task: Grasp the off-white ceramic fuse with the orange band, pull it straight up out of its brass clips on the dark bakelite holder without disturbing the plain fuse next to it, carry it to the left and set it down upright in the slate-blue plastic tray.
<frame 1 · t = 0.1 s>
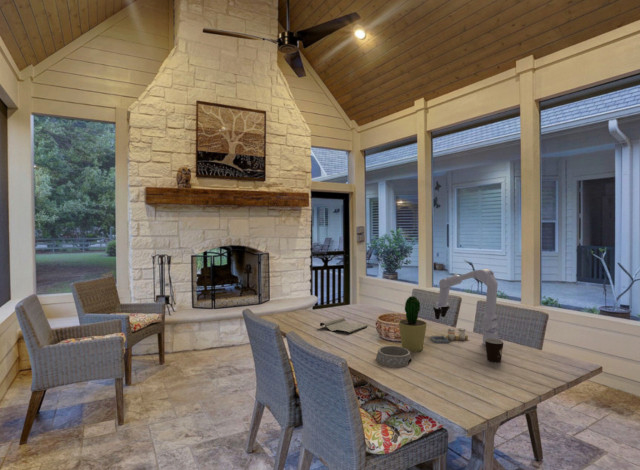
hand: (439, 317, 240), 10 cm above the table, tool pointing down, fingers open, 7 cm apart
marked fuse: (451, 339, 227), point 1 cm above the table, touching fuse holder
fuse holder: (456, 340, 227), on the table
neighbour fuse: (461, 339, 227), point 1 cm above the table, touching fuse holder
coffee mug: (496, 360, 194), on the table
dog bowl: (393, 361, 194), on the table
potted cactus: (412, 348, 213), on the table
mat: (344, 329, 254), on the table
tray: (439, 342, 224), on the table
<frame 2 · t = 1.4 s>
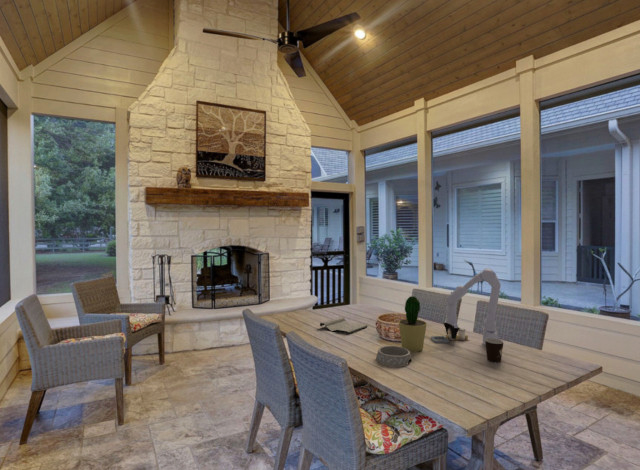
hand: (451, 336, 227), 2 cm above the table, tool pointing down, fingers open, 7 cm apart
nothing on the table moved.
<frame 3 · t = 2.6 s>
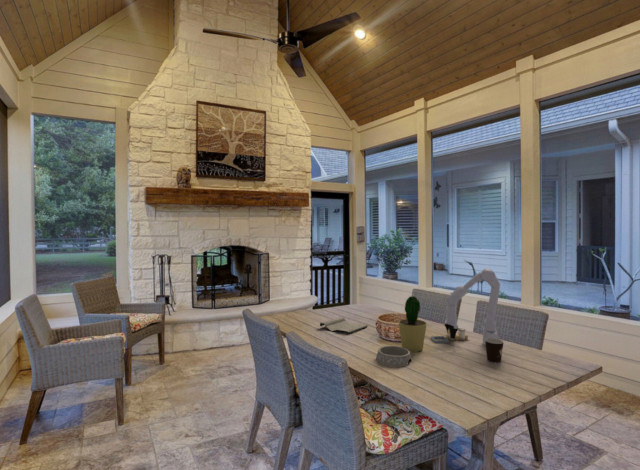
hand: (451, 337, 227), 2 cm above the table, tool pointing down, fingers closed on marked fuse, 4 cm apart
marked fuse: (451, 339, 227), point 1 cm above the table, touching fuse holder, gripper
everything else where it was.
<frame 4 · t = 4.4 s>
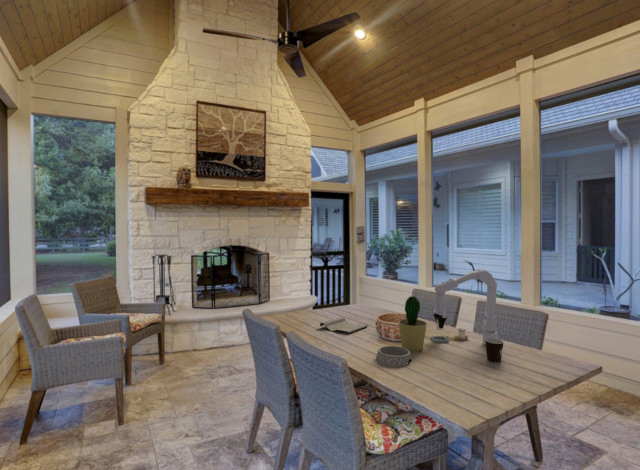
hand: (439, 327, 224), 9 cm above the table, tool pointing down, fingers closed on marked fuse, 4 cm apart
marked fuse: (439, 329, 224), point 8 cm above the table, touching gripper
everything else where it was.
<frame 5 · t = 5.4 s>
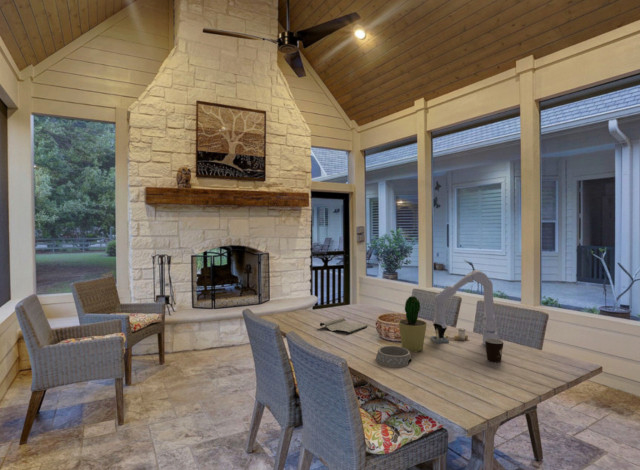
hand: (439, 336, 224), 3 cm above the table, tool pointing down, fingers closed on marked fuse, 4 cm apart
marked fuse: (439, 339, 224), point 2 cm above the table, touching gripper
everything else where it was.
when the fingers open (3 cm above the table, at t = 6.2 s): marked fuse drops 1 cm, resting on tray.
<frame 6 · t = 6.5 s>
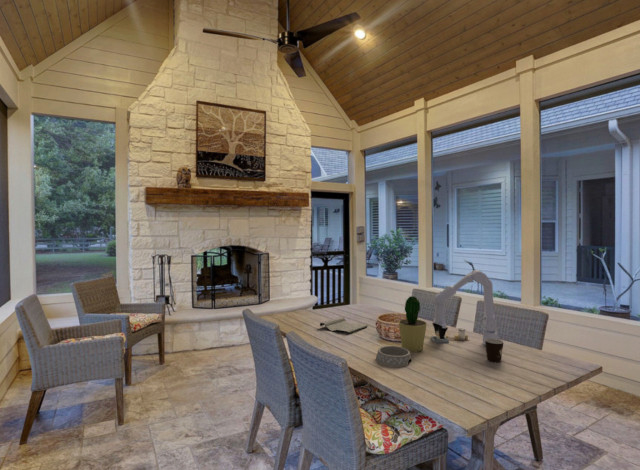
hand: (439, 337, 224), 3 cm above the table, tool pointing down, fingers open, 6 cm apart
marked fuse: (439, 341, 224), point 1 cm above the table, touching tray
everything else where it was.
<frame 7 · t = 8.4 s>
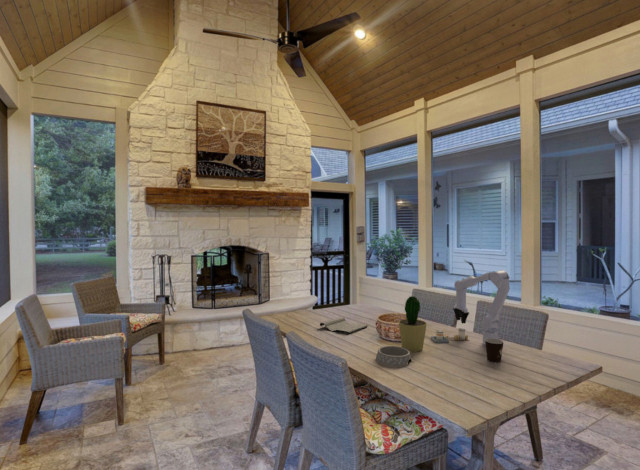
hand: (460, 321, 233), 10 cm above the table, tool pointing down, fingers open, 7 cm apart
nothing on the table moved.
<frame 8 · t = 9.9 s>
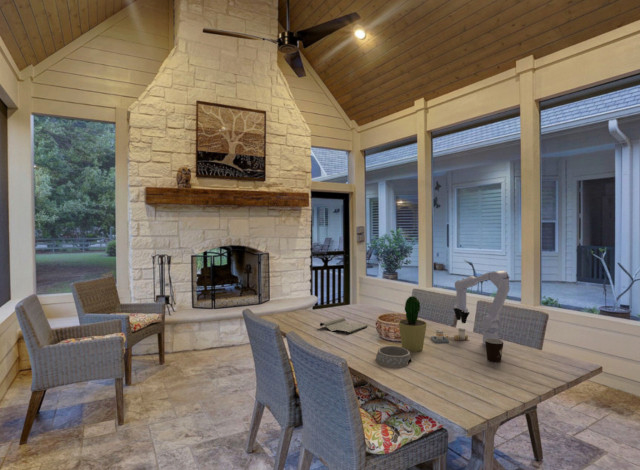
hand: (461, 321, 233), 10 cm above the table, tool pointing down, fingers open, 7 cm apart
nothing on the table moved.
at the end: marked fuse 0.0 cm off-centre on the tray, point 0.5 cm above the tray's base; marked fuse tilted 0°; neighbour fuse moved 0.0 cm from its start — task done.
